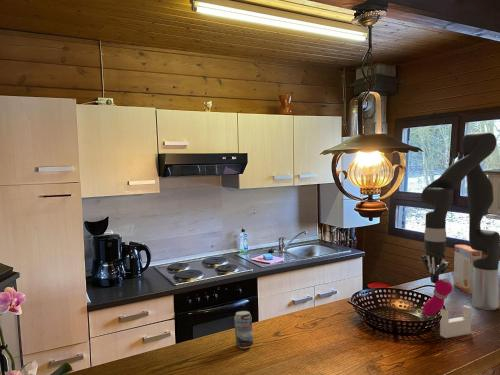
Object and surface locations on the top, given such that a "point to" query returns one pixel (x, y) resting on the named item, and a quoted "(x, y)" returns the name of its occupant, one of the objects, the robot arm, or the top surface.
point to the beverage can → (243, 329)
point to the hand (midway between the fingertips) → (434, 282)
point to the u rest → (455, 323)
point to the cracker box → (464, 267)
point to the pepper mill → (438, 297)
